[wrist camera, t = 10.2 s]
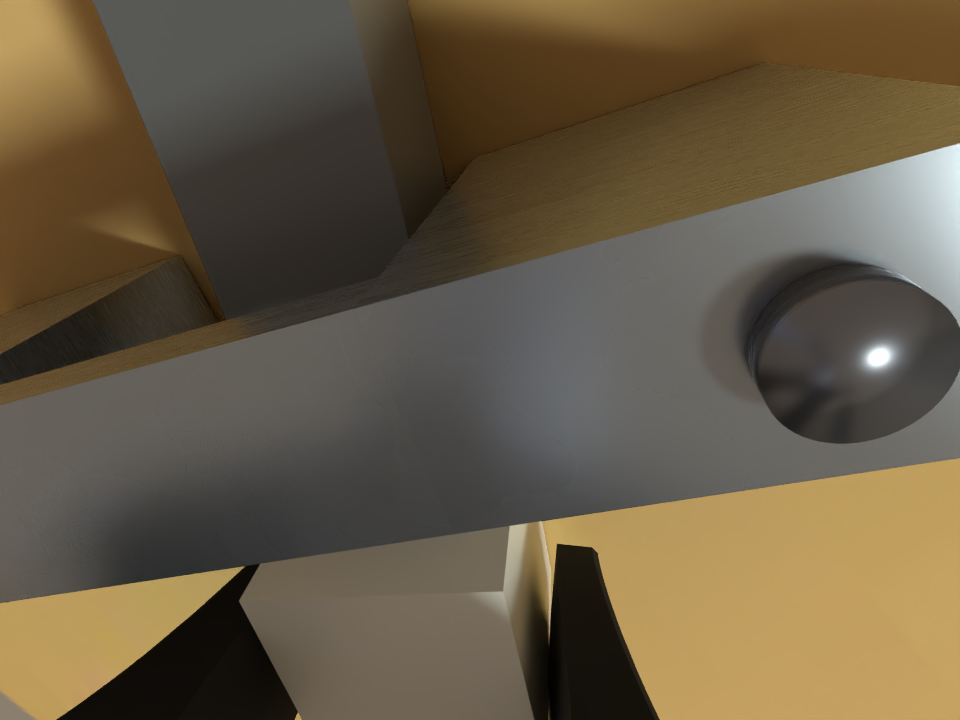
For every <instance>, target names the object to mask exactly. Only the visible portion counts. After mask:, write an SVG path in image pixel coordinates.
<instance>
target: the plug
mask: <svg viewBox="0 0 960 720" xmlns="http://www.w3.org/2000/svg"><path fill="white" fill-rule="evenodd" d="M93 3H94V5H95V8H96V10H97V12H98V15H99V17H100V20H101V22H102V24H103V27H104V29H105V31H106V34H107V36H108V39H109V41H110V43H111V46H112V48H113V51H114V53H115V55H116V58H117V60H118V63H119V65H120V67H121V70H122V72H123V74H124V77H125V79H126V82H127V84H128V86H129V89H130V91H131V94H132V96H133V98H134V101H135V103H136V106H137V108H138V110H139V113H140V115H141V117H142V120H143V122H144V125H145V127H146V129H147V132H148V134H149V137H150V139H151V141H152V144H153V146H154V149H155V151H156V153H157V156H158V158H159V160H160V163H161V165H162V168H163V170H164V172H165V175H166V177H167V180H168V182H169V184H170V187H171V189H172V192H173V194H174V196H175V199H176V201H177V203H178V206H179V208H180V211H181V213H182V215H183V218H184V220H185V223H186V225H187V227H188V230H189V232H190V235H191V237H192V239H193V242H194V244H195V246H196V249H197V251H198V254H199V256H200V258H201V261H202V263H203V266H204V268H205V270H206V273H207V275H208V278H209V280H210V282H211V285H212V287H213V289H214V292H215V294H216V297H217V299H218V301H219V304H220V306H221V309H222V311H223V313H224V316H225V318H226V320H229V319H233V318H236V317H240V316H243V315H247V314H250V313H254V312H257V311H261V310H264V309H268V308H271V307H275V306H278V305H282V304H285V303H289V302H292V301H296V300H299V299H303V298H306V297H310V296H313V295H317V294H320V293H324V292H327V291H331V290H334V289H338V288H341V287H345V286H348V285H352V284H355V283H359V282H362V281H366V280H369V279H373V278H376V277H379V276H380V275H381V274H382V272H383V271H384V270H385V269H386V268H387V266H388V265H389V264H390V263H391V261H392V260H393V259H394V258H395V256H396V255H397V254H398V253H399V251H400V250H401V249H402V248H403V246H404V245H405V244H406V243H407V241H408V240H409V239H410V238H411V236H412V235H413V234H414V233H415V232H416V230H417V229H418V228H419V227H420V225H421V224H422V223H423V222H424V220H425V219H426V218H427V217H428V215H429V214H430V213H431V212H432V210H433V209H434V208H435V207H436V205H437V204H438V203H439V202H440V200H441V199H442V198H443V197H444V196H445V194H446V193H447V187H446V182H445V177H444V173H443V168H442V163H441V158H440V154H439V149H438V144H437V140H436V135H435V130H434V125H433V121H432V116H431V111H430V106H429V102H428V97H427V92H426V87H425V83H424V78H423V73H422V69H421V64H420V59H419V54H418V50H417V45H416V40H415V35H414V31H413V26H412V21H411V16H410V12H409V7H408V2H407V0H93ZM239 602H240V604H241V606H242V608H243V610H244V611H245V613H246V615H247V617H248V619H249V621H250V623H251V625H252V626H253V628H254V630H255V632H256V634H257V636H258V638H259V640H260V641H261V643H262V645H263V647H264V649H265V651H266V653H267V655H268V656H269V658H270V660H271V662H272V664H273V666H274V668H275V670H276V671H277V673H278V675H279V677H280V679H281V681H282V683H283V685H284V686H285V688H286V690H287V692H288V694H289V696H290V698H291V700H292V701H293V703H294V705H295V707H296V709H297V711H298V713H299V715H300V716H301V718H302V720H549V683H548V665H549V638H550V602H551V567H550V562H549V556H548V551H547V546H546V540H545V535H544V530H543V524H542V521H539V522H533V523H526V524H519V525H513V526H506V527H499V528H493V529H486V530H480V531H473V532H466V533H460V534H453V535H447V536H440V537H433V538H427V539H420V540H413V541H407V542H400V543H394V544H387V545H380V546H374V547H367V548H361V549H354V550H347V551H341V552H334V553H328V554H321V555H314V556H308V557H301V558H294V559H288V560H281V561H275V562H268V563H261V564H260V565H259V567H258V569H257V570H256V572H255V574H254V576H253V577H252V579H251V581H250V583H249V584H248V586H247V588H246V590H245V591H244V593H243V595H242V597H241V598H240V600H239Z"/></svg>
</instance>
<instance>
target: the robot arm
mask: <svg viewBox="0 0 960 720" xmlns="http://www.w3.org/2000/svg"><path fill="white" fill-rule="evenodd" d="M259 565H260V564H255V565H248V566H245V567H244V568H243V569H242V570H241V571H240V572H239V573H238V574H237V575H236V576H234V577H233V578H232V579H231V580H230V581H229V582H228V583H227V584H226V585H225V586H223V587H222V588H221V589H220V590H219V591H218V592H217V593H216V594H215V595H214V596H212V597H211V598H210V599H209V600H208V601H207V602H206V603H205V604H204V605H203V606H201V607H200V608H199V609H198V610H197V611H196V612H195V613H193V614H192V615H191V616H190V617H189V618H188V619H186V620H185V621H184V622H183V623H182V624H181V625H179V626H178V627H177V628H176V629H175V630H173V631H172V632H171V633H170V634H169V635H167V636H166V637H165V638H164V639H163V640H161V641H160V642H159V643H158V644H157V645H156V646H154V647H153V648H152V649H151V650H150V651H148V652H147V653H146V654H145V655H143V656H142V657H141V658H140V659H138V660H137V661H136V662H134V663H133V664H132V665H131V666H129V667H128V668H127V669H126V670H124V671H123V672H122V673H120V674H119V675H118V676H116V677H115V678H114V679H113V680H111V681H110V682H108V683H107V684H106V685H104V686H103V687H102V688H100V689H99V690H98V691H96V692H95V693H94V694H92V695H91V696H90V697H88V698H87V699H86V700H84V701H83V702H81V703H80V704H79V705H77V706H76V707H74V708H73V709H71V710H70V711H68V712H67V713H66V714H64V715H63V716H61V717H60V718H58V719H57V720H295V717H296V715H297V713H298V711H297V709H296V707H295V705H294V703H293V701H292V700H291V698H290V696H289V694H288V692H287V690H286V688H285V686H284V685H283V683H282V681H281V679H280V677H279V675H278V673H277V671H276V670H275V668H274V666H273V664H272V662H271V660H270V658H269V656H268V655H267V653H266V651H265V649H264V647H263V645H262V643H261V641H260V640H259V638H258V636H257V634H256V632H255V630H254V628H253V626H252V625H251V623H250V621H249V619H248V617H247V615H246V613H245V611H244V610H243V608H242V606H241V604H240V602H239V600H240V598H241V597H242V595H243V593H244V591H245V590H246V588H247V586H248V584H249V583H250V581H251V579H252V577H253V576H254V574H255V572H256V570H257V569H258V567H259ZM548 683H549V720H660V719H659V717H658V715H657V713H656V711H655V709H654V707H653V705H652V703H651V701H650V698H649V696H648V694H647V692H646V690H645V687H644V685H643V683H642V681H641V678H640V676H639V674H638V672H637V669H636V667H635V664H634V662H633V660H632V657H631V655H630V652H629V650H628V647H627V645H626V642H625V640H624V638H623V635H622V632H621V630H620V627H619V625H618V622H617V619H616V616H615V613H614V611H613V608H612V605H611V602H610V599H609V596H608V593H607V589H606V586H605V583H604V579H603V576H602V572H601V568H600V564H599V559H598V553H597V552H596V551H595V550H594V549H593V548H592V547H582V546H572V545H563V544H557V550H556V561H555V573H554V584H553V596H552V607H551V619H550V638H549V665H548Z"/></svg>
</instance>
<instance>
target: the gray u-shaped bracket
mask: <svg viewBox="0 0 960 720" xmlns="http://www.w3.org/2000/svg"><path fill="white" fill-rule="evenodd" d="M956 458H960V86H954V85H945V84H937V83H929V82H921V81H913V80H905V79H896V78H888V77H880V76H872V75H864V74H855V73H847V72H839V71H831V70H823V69H815V68H806V67H798V66H790V65H782V64H774V63H765V62H764V63H761V64H758V65H755V66H752V67H749V68H746V69H743V70H740V71H737V72H734V73H730V74H727V75H724V76H721V77H718V78H715V79H712V80H709V81H706V82H703V83H700V84H697V85H694V86H691V87H688V88H685V89H682V90H679V91H676V92H673V93H670V94H667V95H664V96H661V97H658V98H655V99H652V100H649V101H645V102H642V103H639V104H636V105H633V106H630V107H627V108H624V109H621V110H618V111H615V112H612V113H609V114H606V115H603V116H600V117H597V118H594V119H591V120H588V121H585V122H582V123H579V124H576V125H573V126H570V127H567V128H563V129H560V130H557V131H554V132H551V133H548V134H545V135H542V136H539V137H536V138H533V139H530V140H527V141H524V142H521V143H518V144H515V145H512V146H509V147H506V148H503V149H500V150H497V151H494V152H491V153H488V154H485V155H482V156H478V157H475V158H474V160H473V161H472V162H471V163H470V165H469V166H468V167H467V168H466V169H465V171H464V172H463V173H462V174H461V176H460V177H459V178H458V179H457V181H456V182H455V183H454V184H453V186H452V187H451V188H450V189H449V191H448V192H447V193H446V194H445V196H444V197H443V198H442V199H441V200H440V202H439V203H438V204H437V205H436V207H435V208H434V209H433V210H432V212H431V213H430V214H429V215H428V217H427V218H426V219H425V220H424V222H423V223H422V224H421V225H420V227H419V228H418V229H417V230H416V232H415V233H414V234H413V235H412V236H411V238H410V239H409V240H408V241H407V243H406V244H405V245H404V246H403V248H402V249H401V250H400V251H399V253H398V254H397V255H396V256H395V258H394V259H393V260H392V261H391V263H390V264H389V265H388V266H387V268H386V269H385V270H384V271H383V272H382V274H381V275H380V276H379V277H376V278H373V279H369V280H366V281H362V282H359V283H355V284H352V285H348V286H345V287H341V288H338V289H334V290H331V291H327V292H324V293H320V294H317V295H313V296H310V297H306V298H303V299H299V300H296V301H292V302H289V303H285V304H282V305H278V306H275V307H271V308H268V309H264V310H261V311H257V312H254V313H250V314H247V315H243V316H240V317H236V318H233V319H229V320H226V321H222V322H218V321H217V319H216V317H215V315H214V313H213V312H212V310H211V308H210V306H209V305H208V303H207V301H206V299H205V298H204V296H203V294H202V292H201V291H200V289H199V287H198V285H197V284H196V282H195V280H194V278H193V277H192V275H191V273H190V271H189V269H188V268H187V266H186V264H185V262H184V261H183V259H182V257H181V255H178V256H175V257H172V258H169V259H166V260H163V261H160V262H157V263H154V264H151V265H148V266H145V267H142V268H138V269H135V270H132V271H129V272H126V273H123V274H120V275H117V276H114V277H111V278H108V279H105V280H102V281H99V282H96V283H93V284H90V285H87V286H84V287H81V288H78V289H75V290H72V291H69V292H66V293H63V294H60V295H56V296H53V297H50V298H47V299H44V300H41V301H38V302H35V303H32V304H29V305H26V306H23V307H20V308H17V309H14V310H11V311H9V312H7V313H5V314H2V315H0V603H3V602H10V601H17V600H23V599H30V598H37V597H43V596H50V595H56V594H63V593H70V592H76V591H83V590H89V589H96V588H103V587H109V586H116V585H123V584H129V583H136V582H142V581H149V580H156V579H162V578H169V577H175V576H182V575H189V574H195V573H202V572H208V571H215V570H222V569H228V568H235V567H242V566H248V565H255V564H261V563H268V562H275V561H281V560H288V559H294V558H301V557H308V556H314V555H321V554H328V553H334V552H341V551H347V550H354V549H361V548H367V547H374V546H380V545H387V544H394V543H400V542H407V541H413V540H420V539H427V538H433V537H440V536H447V535H453V534H460V533H466V532H473V531H480V530H486V529H493V528H499V527H506V526H513V525H519V524H526V523H533V522H539V521H546V520H552V519H559V518H566V517H572V516H579V515H585V514H592V513H599V512H605V511H612V510H619V509H625V508H632V507H638V506H645V505H652V504H658V503H665V502H671V501H678V500H685V499H691V498H698V497H704V496H711V495H718V494H724V493H731V492H738V491H744V490H751V489H757V488H764V487H771V486H777V485H784V484H790V483H797V482H804V481H810V480H817V479H824V478H830V477H837V476H843V475H850V474H857V473H863V472H870V471H876V470H883V469H890V468H896V467H903V466H909V465H916V464H923V463H929V462H936V461H943V460H949V459H956Z"/></svg>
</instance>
